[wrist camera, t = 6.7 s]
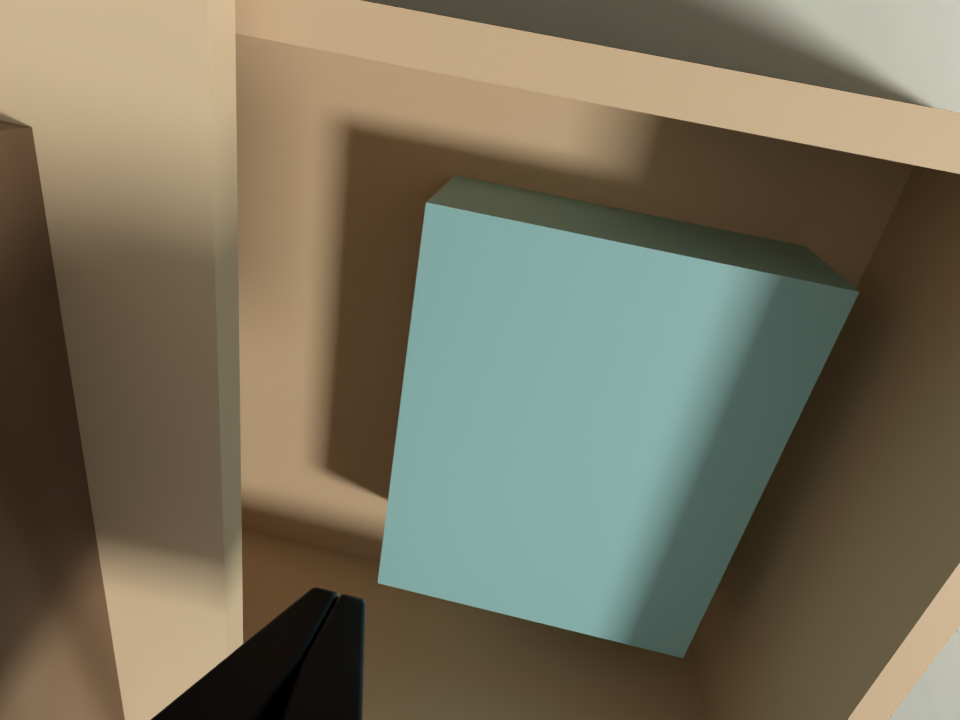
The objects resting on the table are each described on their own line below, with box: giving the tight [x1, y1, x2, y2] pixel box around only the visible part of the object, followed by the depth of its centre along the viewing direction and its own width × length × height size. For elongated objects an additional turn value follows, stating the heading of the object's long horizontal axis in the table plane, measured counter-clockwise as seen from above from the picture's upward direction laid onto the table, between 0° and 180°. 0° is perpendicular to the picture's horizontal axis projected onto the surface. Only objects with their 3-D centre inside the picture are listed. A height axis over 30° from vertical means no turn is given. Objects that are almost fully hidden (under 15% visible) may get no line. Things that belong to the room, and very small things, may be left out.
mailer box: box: [235, 0, 960, 720], centre depth 14 cm, size 20×16×7 cm
